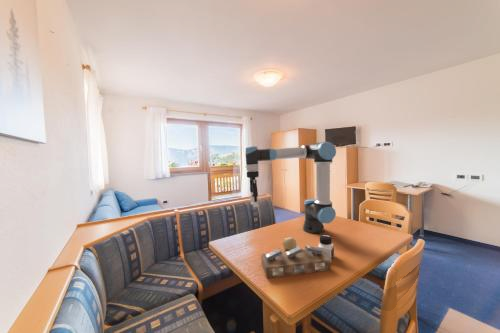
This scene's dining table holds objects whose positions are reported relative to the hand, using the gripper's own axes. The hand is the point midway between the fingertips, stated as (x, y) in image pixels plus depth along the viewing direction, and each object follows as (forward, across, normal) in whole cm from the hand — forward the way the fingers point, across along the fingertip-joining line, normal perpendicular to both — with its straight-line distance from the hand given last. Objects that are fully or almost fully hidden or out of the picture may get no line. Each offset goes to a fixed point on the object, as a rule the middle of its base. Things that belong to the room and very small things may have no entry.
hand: (254, 204), depth 125 cm
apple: (+28, +8, +20) cm, 35 cm away
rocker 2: (+20, +27, +16) cm, 37 cm away
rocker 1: (+20, +27, +5) cm, 34 cm away
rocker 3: (+20, +27, +26) cm, 42 cm away
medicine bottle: (+28, +22, +36) cm, 50 cm away
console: (+27, +27, +16) cm, 42 cm away
